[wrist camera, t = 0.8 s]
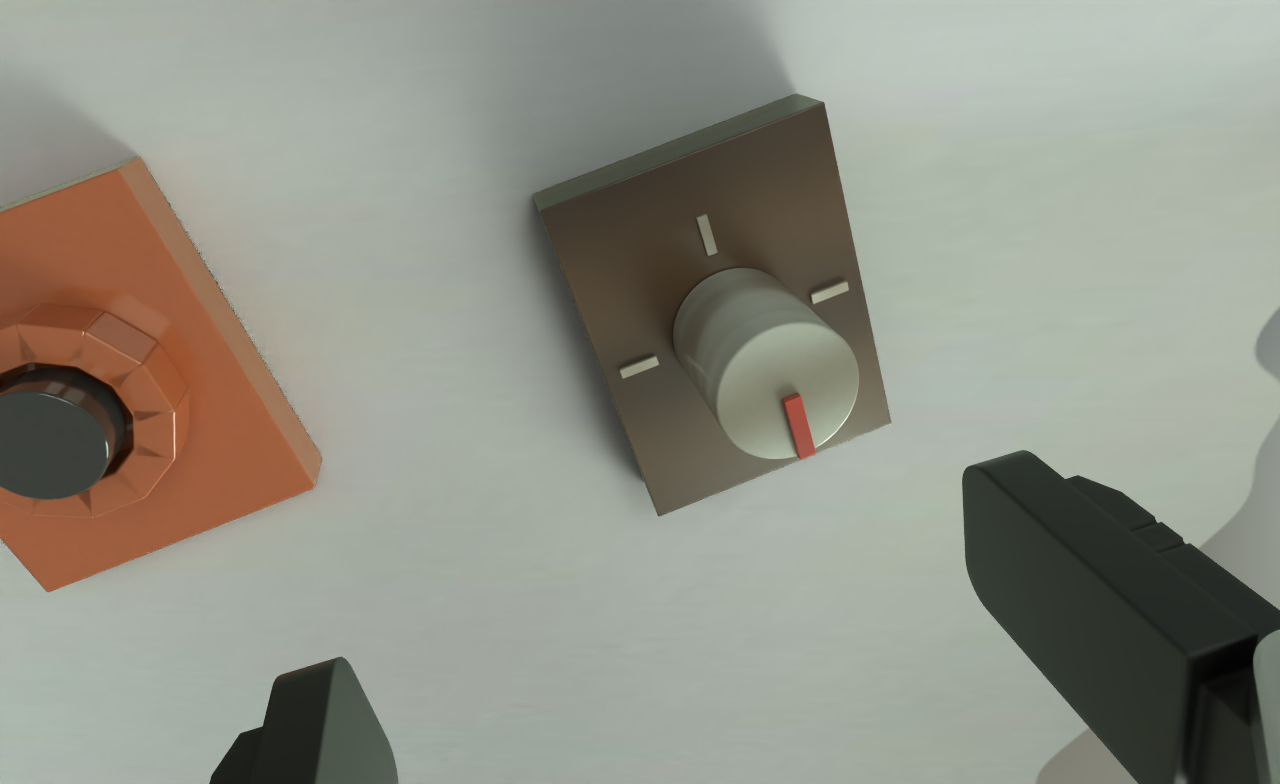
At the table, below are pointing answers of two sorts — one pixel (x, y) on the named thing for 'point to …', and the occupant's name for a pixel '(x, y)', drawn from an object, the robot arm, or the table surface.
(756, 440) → the dial
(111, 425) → the button
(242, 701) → the table surface
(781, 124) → the dial panel
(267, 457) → the button housing
